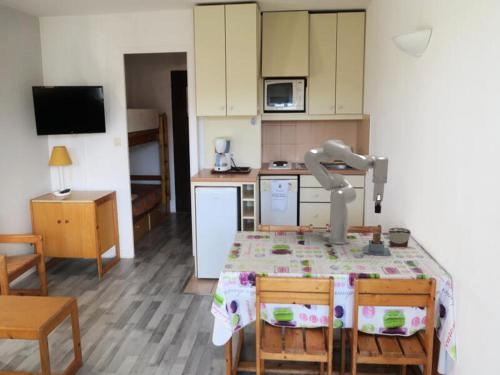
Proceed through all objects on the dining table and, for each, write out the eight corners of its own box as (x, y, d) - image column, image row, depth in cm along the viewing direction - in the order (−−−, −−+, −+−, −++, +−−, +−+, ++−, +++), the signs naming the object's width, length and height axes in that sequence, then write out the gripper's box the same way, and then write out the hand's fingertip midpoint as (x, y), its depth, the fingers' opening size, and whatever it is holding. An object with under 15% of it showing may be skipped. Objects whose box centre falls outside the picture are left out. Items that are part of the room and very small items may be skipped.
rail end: (372, 251, 237) (373, 233, 235) (372, 248, 240) (373, 231, 239) (380, 251, 236) (380, 233, 234) (379, 249, 240) (380, 231, 238)
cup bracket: (362, 254, 234) (363, 244, 233) (362, 247, 246) (363, 238, 245) (390, 256, 231) (390, 246, 230) (389, 249, 242) (389, 240, 241)
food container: (407, 244, 251) (408, 227, 249) (410, 247, 245) (411, 230, 243) (385, 243, 252) (386, 227, 250) (387, 247, 246) (388, 230, 244)
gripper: (372, 177, 242) (370, 207, 245) (372, 182, 225) (370, 214, 228) (386, 177, 240) (384, 208, 243) (387, 182, 223) (385, 215, 226)
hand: (377, 211), depth 236 cm, fingers open, 9 cm apart
